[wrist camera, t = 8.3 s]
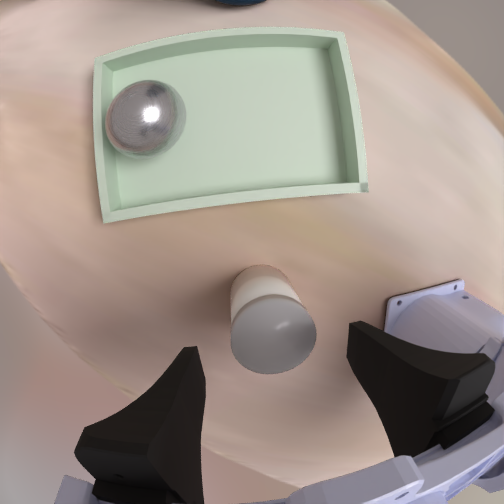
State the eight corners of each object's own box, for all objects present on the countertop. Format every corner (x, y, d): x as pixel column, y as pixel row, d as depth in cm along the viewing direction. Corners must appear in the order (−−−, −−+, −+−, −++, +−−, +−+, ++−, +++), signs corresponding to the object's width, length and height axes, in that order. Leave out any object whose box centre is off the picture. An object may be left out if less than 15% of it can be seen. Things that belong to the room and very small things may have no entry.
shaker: (289, 260, 18) (316, 296, 13) (292, 316, 19) (315, 366, 14) (225, 268, 18) (224, 309, 12) (234, 324, 19) (236, 378, 13)
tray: (332, 44, 15) (343, 32, 12) (353, 190, 17) (368, 192, 15) (107, 68, 14) (94, 58, 12) (117, 218, 17) (103, 223, 14)
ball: (186, 90, 15) (183, 60, 10) (190, 157, 16) (187, 146, 12) (117, 101, 14) (94, 77, 10) (119, 168, 15) (94, 162, 11)
